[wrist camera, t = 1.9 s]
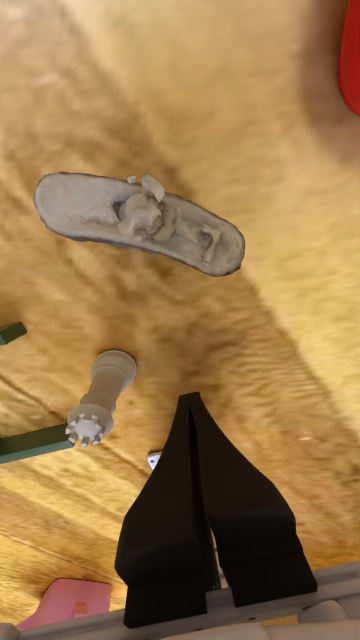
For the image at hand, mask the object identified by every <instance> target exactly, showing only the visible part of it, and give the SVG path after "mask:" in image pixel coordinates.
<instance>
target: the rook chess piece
mask: <svg viewBox="0 0 360 640" xmlns="http://www.w3.org/2000/svg"><path fill="white" fill-rule="evenodd" d="M136 370H137V367H136V364H135V361H134V360H133V359H132V358H131V356H130V355H128V354H126V353H124V352H122V351H117V350H111V351H105V352H104V353H102V354H100V355H99V356H98V357H97V359H96V360H95V363H94V364H93V366H92V370H91V378H92V379H91V381H92V384H91V386H90V389H89V392H88V393H87V394H85V395H84V396H83V397H82V399H81V400H80V405H78V406H76V407H74V408H73V409H71V411H70V412H69V414H68V416H67V423H68V426H67V427H66V433H65V434H70V433H71V435H70V437H69V438H68V439H69V440H70V441H71V442H72V443H74V442H75V441H76V440H77V438H80V439H82V442H81V444H80V446H85V447H87V446H88V444H89V441H90V440H93V442H92V443H93V445H96V444H98V443H100V441H101V438H103V437H104V435H105V434H107V433H109V431H110V430H111V429H112V428H113V422H114V420H113V418H112V414H113V413H114V411H115V409H116V403H115V402H116V400H117V398H118V396H119V395H120V393H121V392H123V391H124V390H125V389H126V388H128V387H129V386H130V384H131V383H132V382H133V380H134V377H135V375H136Z"/></svg>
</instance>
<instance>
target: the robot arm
mask: <svg viewBox="0 0 360 640" xmlns="http://www.w3.org/2000/svg"><path fill="white" fill-rule="evenodd" d="M147 460H148V462H149V464H150V466H151V468H152V470H153V472H152V473H151V475H150V477H149V479H148V480H147V482H146V484H145V486H144V487H143V489H142V491H141V492H140V494H139V496H138V497H137V499H136V500H135V502H134V503H133V505H132V506H131V508H130V509H129V511H128V512H127V514H126V515H125V518H124V521H123V525H122V529H121V533H120V537H119V541H118V547H117V553H116V559H115V567H114V568H115V570H116V572H117V574H118V575H119V576H120V578H121V579H122V580H123V581H124V582H125V584H126V585H127V586H128V589H127V597H126V605H125V609H120V610H115V611H110V612H105V613H100V614H96V615H91V616H86V617H81V618H76V619H71V620H66V621H61V622H56V623H51V624H46V625H42V626H37V627H32V628H27V629H22V630H19V628H18V627H17V626H15V625H14V624H11V623H0V640H360V561H356V562H351V563H346V564H341V565H336V566H331V567H326V568H321V569H316V570H311V569H310V566H309V564H308V562H307V560H306V557H305V555H304V553H303V548H302V545H301V543H300V541H299V539H298V536H297V534H296V520H295V517H294V514H293V512H292V511H291V509H290V507H289V505H288V504H287V502H286V501H285V499H284V498H283V496H282V495H281V493H280V492H279V491H278V489H277V488H276V487H275V485H274V484H273V483H272V482H271V481H270V480H269V479H268V478H267V477H266V476H264V475H263V474H262V473H261V472H260V471H259V470H258V469H257V468H256V467H254V466H253V465H252V464H251V463H250V462H249V461H248V460H247V459H246V458H245V457H244V456H243V455H242V454H241V453H240V452H239V451H238V449H237V448H236V447H235V446H234V445H233V444H232V443H231V442H230V441H229V439H228V438H227V437H226V436H225V435H224V433H223V432H222V431H221V429H220V428H219V427H218V425H217V424H216V423H215V421H214V420H213V418H212V417H211V415H210V413H209V412H208V410H207V409H206V407H205V405H204V403H203V401H202V399H201V396H200V393H199V392H198V391H197V392H193V393H189V394H185V395H180V396H179V400H178V405H177V410H176V414H175V417H174V421H173V424H172V427H171V430H170V433H169V436H168V439H167V441H166V444H165V446H164V449H163V451H160V452H156V453H152V454H149V455H148V457H147ZM297 614H298V616H297V620H298V623H299V624H287V625H273V626H260V622H261V621H266V620H272V619H276V618H282V617H287V616H292V615H297Z"/></svg>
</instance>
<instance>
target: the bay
mask: <svg viewBox="0 0 360 640" xmlns="http://www.w3.org/2000/svg"><path fill="white" fill-rule="evenodd" d="M26 333H27V332H26V330H25V328H24V327H23V325H22V323H21V322H19V323H15V324H11V325H7V326H3V327H0V346H1V345H5V344H8V343H9V342H11V341H13V340H15V339H17V338H19V337H20V336H22V335H24V334H26ZM67 426H68V423H67V424H63V425H59V426H55V427H51V428H46V429H42V430H38V431H34V432H30V433H26V434H21V435H17V436H13V437H9V438H5V439H1V438H0V464H3V463H7V462H11V461H16V460H20V459H24V458H28V457H33V456H37V455H41V454H46V453H50V452H54V451H58V450H63V449H67V448H71V447H73V446H74V444H75V442H76V441H75V442H74V443H72V442H71V441H70V440H69V439H68V438H69V437H70V435H71V433H70V434H65V433H66V427H67Z"/></svg>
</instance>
